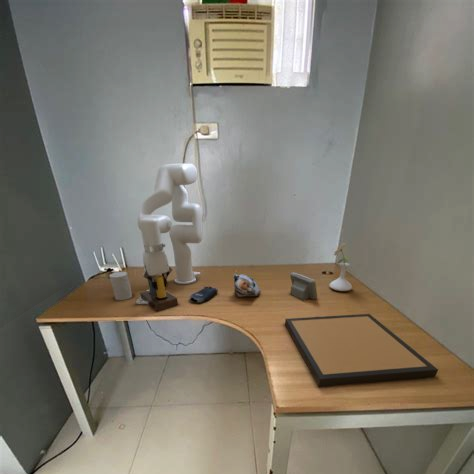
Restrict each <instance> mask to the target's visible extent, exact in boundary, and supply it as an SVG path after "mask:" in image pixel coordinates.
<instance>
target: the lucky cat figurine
mask: <svg viewBox="0 0 474 474" xmlns="http://www.w3.org/2000/svg"><path fill="white" fill-rule="evenodd" d="M233 279H234V280H233V283H234V284H233V286H234V294H235V295H236V296H237V297H238V298H241V297H259V295H260V294H261V292H262V291H261V289H260V288H259V286H258V284H257V282H256V281H255V280H254V277H252V276H250V277H249V276H248V275H246V274H239V275H238V273H236V272H235V273H233Z"/></svg>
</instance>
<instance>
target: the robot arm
mask: <svg viewBox="0 0 474 474" xmlns="http://www.w3.org/2000/svg"><path fill="white" fill-rule="evenodd" d="M197 179H198V169H197V167H196V165H195V164H194V163H168V164H162V165H160V166H159V168H158V170H157V174H156V179H155V185H154V189H153V192H152V193H151V194H150V195H148V196H147V198H145V199H144V201H143V202H142V203H141V204H140V207H139V210H138V215H137V227H138V228H139V231H140V233H141V238H142V243H143V244H142V245H143V248H144V251H143V252H142V263H143V273H142V278H144V279H147V280H148V279H149V280H151V282H152V287H153V288H154V289H155V290H157V289H158V288H157V282H156V281H155V275H163V279H164V285H165V288H168V280H167V279H168V277H169V276H170V274H171V273H172V272H173V269H172V267H171V266H170V265H169V259H168V256H167V254H166V251H165V249H164V248H165V247H166V244H165V243H163V242H162V241H163V240H162V234H166V233H168V234H169V238H170V242H171V245H172V251H173V257H174V266H175V274H176V277H175V278H174V283H175V284H177V285H190V284H193V283H195V282H197V276H201V272H200V271H198V272H197V271H194V270H193V261H192V251H191V248H190V247H189V245H188V244H200V243H201V242H202V239H203V210H202V207H201V205H200V204H199V203H196V202H189V193H188V191H187V189H186V188H185V186H188V185H192V184H194V183H196V181H197ZM170 203H171V216H172V219H173V221H174V222H175V223H192V224H174V225H173V221H172V219H171V218H170V217H169V215H167V214H152V213H154V212H155V211H157V210H158V209H160V208H162V207H164V206H166V205H169V204H170ZM147 274H148V275H149V276H150V277H149V276H147Z"/></svg>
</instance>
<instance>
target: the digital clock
mask: <svg viewBox="0 0 474 474" xmlns="http://www.w3.org/2000/svg"><path fill="white" fill-rule="evenodd" d="M289 275H290V280H291V281H290V282H291V286H290V295H291V296H294V297H296V298H298V299H300V300H302V301H303V300H307V299H312V300H316V299H318V291H317V285H316V280H315V279H314V278H310V277H308V276H305V275H302V274H300V273H297V272H290V273H289Z"/></svg>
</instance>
